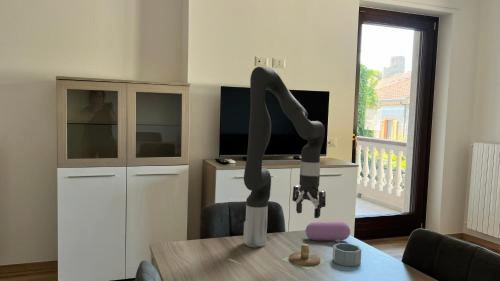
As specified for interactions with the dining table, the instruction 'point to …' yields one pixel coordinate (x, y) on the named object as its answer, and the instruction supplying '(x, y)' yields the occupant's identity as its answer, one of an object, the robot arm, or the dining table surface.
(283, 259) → the mat
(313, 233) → the toy
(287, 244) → the dining table surface
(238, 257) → the dining table surface
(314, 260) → the lid
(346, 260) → the cup
